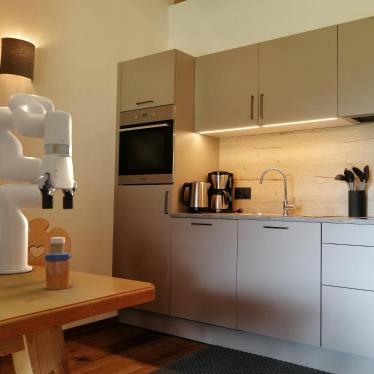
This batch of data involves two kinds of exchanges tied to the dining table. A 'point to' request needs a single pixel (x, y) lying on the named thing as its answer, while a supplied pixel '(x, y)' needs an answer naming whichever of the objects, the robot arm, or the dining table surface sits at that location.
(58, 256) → the lid
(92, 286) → the dining table surface
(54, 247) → the sprinkles bottle
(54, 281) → the jar
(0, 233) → the robot arm
